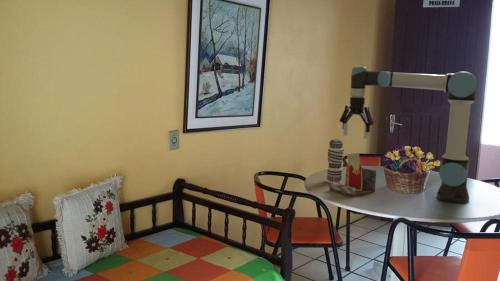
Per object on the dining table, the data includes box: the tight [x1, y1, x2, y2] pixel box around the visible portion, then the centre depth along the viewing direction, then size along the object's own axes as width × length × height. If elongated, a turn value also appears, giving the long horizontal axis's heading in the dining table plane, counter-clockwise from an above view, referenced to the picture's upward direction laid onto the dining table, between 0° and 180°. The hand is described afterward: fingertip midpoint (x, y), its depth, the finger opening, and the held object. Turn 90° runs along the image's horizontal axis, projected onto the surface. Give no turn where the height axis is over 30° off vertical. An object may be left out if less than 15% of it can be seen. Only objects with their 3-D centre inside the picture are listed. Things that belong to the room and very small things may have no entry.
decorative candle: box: [326, 138, 344, 184], centre depth 253 cm, size 9×9×25 cm
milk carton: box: [344, 152, 362, 191], centre depth 232 cm, size 9×9×20 cm
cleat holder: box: [328, 166, 377, 198], centre depth 233 cm, size 16×19×12 cm
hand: (355, 136), depth 230 cm, fingers open, 13 cm apart
